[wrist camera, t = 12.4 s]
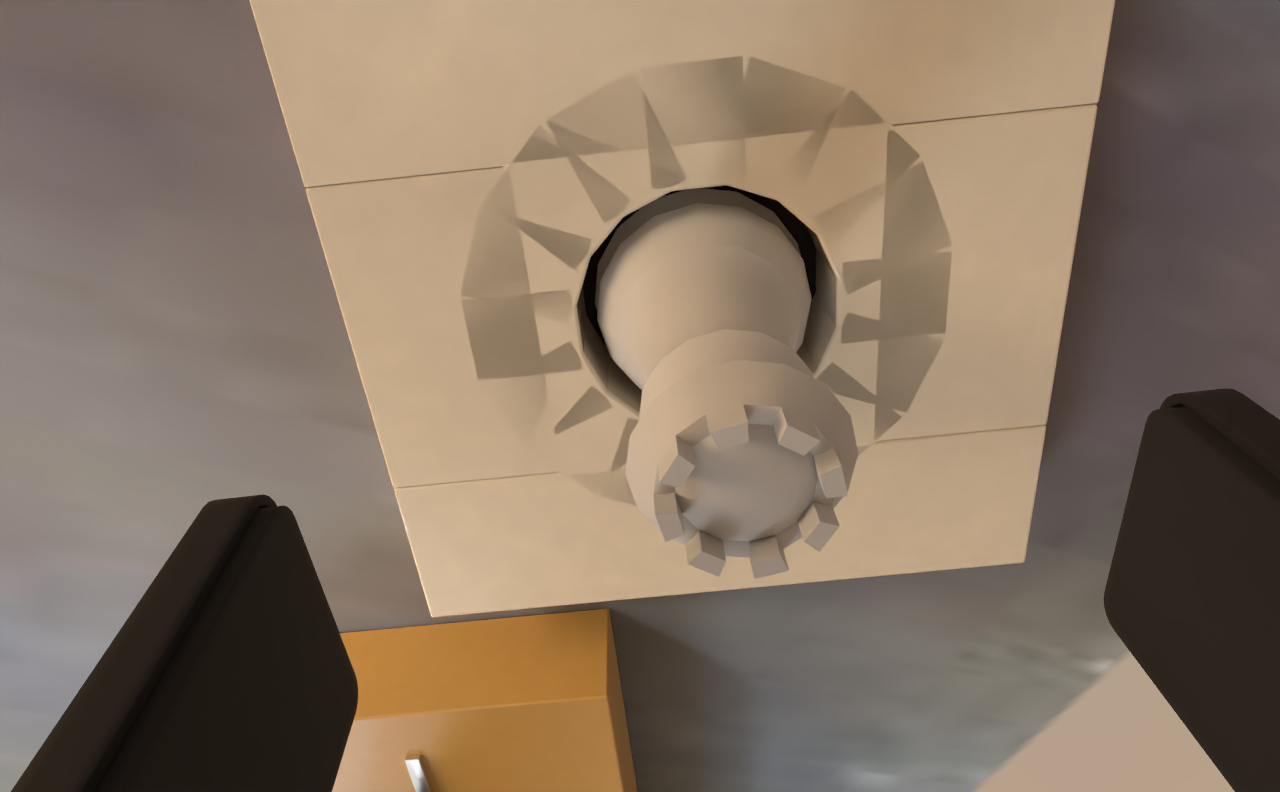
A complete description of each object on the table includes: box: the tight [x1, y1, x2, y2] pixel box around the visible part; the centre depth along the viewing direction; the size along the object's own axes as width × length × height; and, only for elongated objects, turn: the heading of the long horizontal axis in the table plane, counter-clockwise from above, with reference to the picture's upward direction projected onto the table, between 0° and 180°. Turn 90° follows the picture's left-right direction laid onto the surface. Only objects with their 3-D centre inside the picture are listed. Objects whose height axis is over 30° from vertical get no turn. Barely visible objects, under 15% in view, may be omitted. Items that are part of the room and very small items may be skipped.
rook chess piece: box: [595, 188, 858, 579], centre depth 14 cm, size 4×4×8 cm
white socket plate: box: [249, 0, 1115, 617], centre depth 16 cm, size 18×14×2 cm
